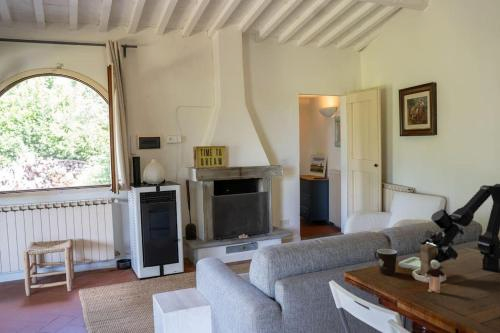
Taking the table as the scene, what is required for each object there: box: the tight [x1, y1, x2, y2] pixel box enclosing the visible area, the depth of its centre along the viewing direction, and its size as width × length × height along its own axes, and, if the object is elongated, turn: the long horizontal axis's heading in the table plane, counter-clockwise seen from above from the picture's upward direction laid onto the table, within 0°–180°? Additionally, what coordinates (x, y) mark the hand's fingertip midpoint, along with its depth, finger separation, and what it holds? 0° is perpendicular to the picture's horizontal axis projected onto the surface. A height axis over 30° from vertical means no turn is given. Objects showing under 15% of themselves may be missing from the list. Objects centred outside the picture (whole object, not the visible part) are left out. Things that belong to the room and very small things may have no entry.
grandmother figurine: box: [425, 260, 447, 294], centre depth 158 cm, size 8×4×13 cm, turn 68°
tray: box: [398, 256, 441, 271], centre depth 190 cm, size 13×13×2 cm
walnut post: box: [420, 244, 438, 277], centre depth 174 cm, size 5×5×14 cm
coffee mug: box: [374, 248, 398, 276], centre depth 184 cm, size 12×9×10 cm
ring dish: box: [411, 269, 447, 283], centre depth 174 cm, size 12×12×2 cm
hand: (426, 263), depth 174 cm, fingers open, 7 cm apart
